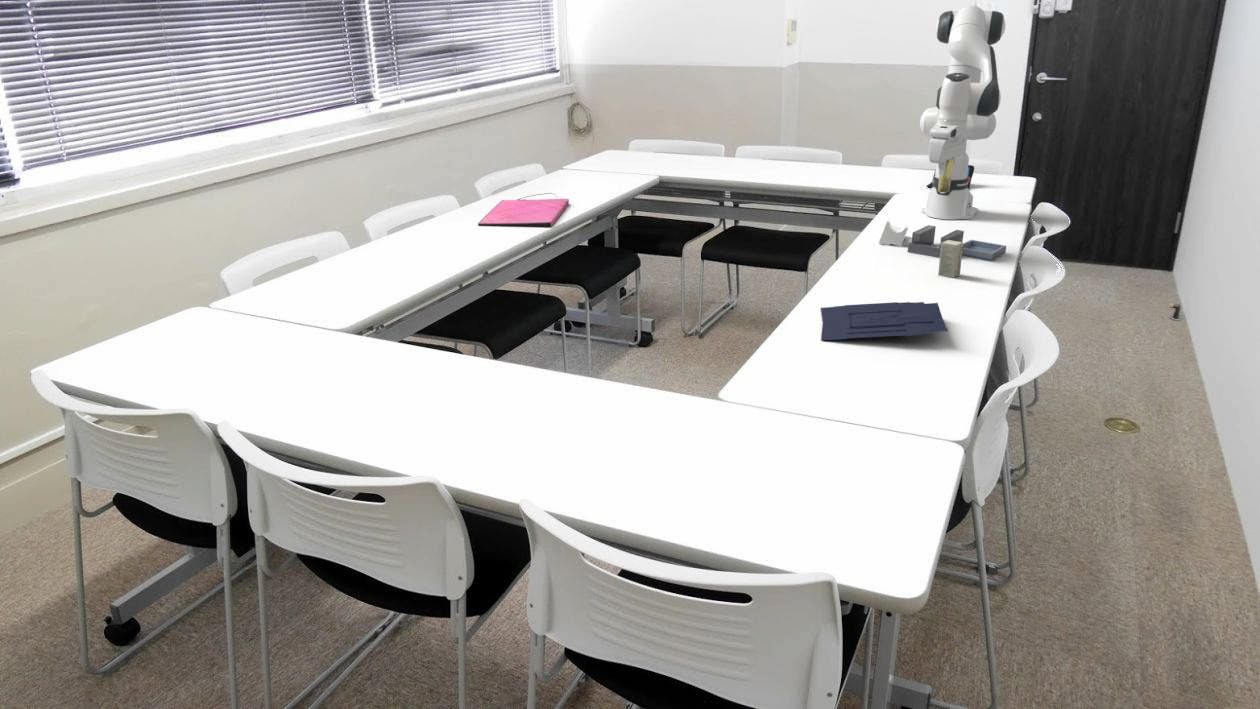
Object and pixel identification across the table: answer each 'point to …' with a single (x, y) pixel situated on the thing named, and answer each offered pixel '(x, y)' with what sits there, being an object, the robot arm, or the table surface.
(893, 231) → the bracket
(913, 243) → the clevis block
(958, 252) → the skincare box
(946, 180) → the pin
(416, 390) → the table surface
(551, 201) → the laptop bag
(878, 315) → the navy flat slab
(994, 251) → the tray
